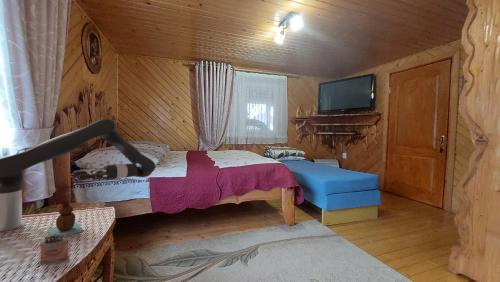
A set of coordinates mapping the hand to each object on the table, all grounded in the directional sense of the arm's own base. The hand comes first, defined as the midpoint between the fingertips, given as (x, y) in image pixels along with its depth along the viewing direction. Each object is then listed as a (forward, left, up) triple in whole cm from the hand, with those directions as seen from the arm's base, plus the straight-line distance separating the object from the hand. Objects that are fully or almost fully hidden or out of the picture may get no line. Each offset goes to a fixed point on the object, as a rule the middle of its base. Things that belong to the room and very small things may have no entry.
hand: (76, 175), depth 101 cm
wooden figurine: (-3, -3, -26) cm, 26 cm away
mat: (-3, -3, -26) cm, 26 cm away
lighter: (+22, -11, -26) cm, 36 cm away
